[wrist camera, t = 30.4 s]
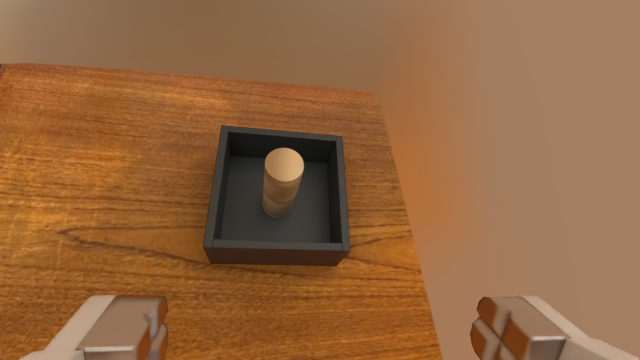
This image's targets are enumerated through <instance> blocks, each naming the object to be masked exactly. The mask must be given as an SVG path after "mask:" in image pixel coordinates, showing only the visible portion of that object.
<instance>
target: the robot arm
mask: <svg viewBox="0 0 640 360" xmlns="http://www.w3.org/2000/svg"><path fill="white" fill-rule="evenodd" d="M477 311H478V313H479V316H480V317H478V318H477V319H476V320H475V321H474V322H473V324H472V329H471V332H470V335H471V342H472V346H473V348H474V351H475V353H476V354H477V356H478V357H479V358H480V360H640V359H639V358H637V357H635V356H633V355H631V354H629V353H627V352H624V351H622V350H620V349H618V348H616V347H614V346H612V345H609V344H607V343H605V342H603V341H601V340H599V339H596V338H589V337H588V336H587V335H586V334H585V333H583V332H582V331H580V330H579V329H578V328H577V327H576V326H574V325H573V324H572V323H571V322H570V321H568V320H567V319H566V318H564V317H563V316H562V315H561V314H560V313H558V312H557V311H556V310H554V309H553V308H552V307H551V306H550V305H548V304H547V303H546V302H544V301H543V300H542V299H541V298H539V297H536V296H516V297H483V298H482V299H481V300H480V301H479V303H478V307H477ZM167 312H168V309H167V299H166V297H165V296H139V295H118V296H117V295H94V296H91V297H89V298H88V299H87V300H86V301H85V302H84V304H83V305H82V306H81V307H80V308H79V309H78V311H77V312H76V313H75V314H74V315H73V316H72V318H71V319H70V320H69V321H68V322H67V323H66V324H65V326H64V327H63V328H62V329H61V330H60V331H59V333H58V334H57V335H56V336H55V337H54V338H53V340H52V341H51V342H50V343H49V344H48V345H47V347H46V348H45V349H44V350H43V351H34V352H32V353H30V354H28V355H26V356H24V357H23V358H21V359H19V360H165V355H166V351H167V346H168V327H167V326H166V324H165V323H164V322H163V321H164V318H165V316H166V314H167Z"/></svg>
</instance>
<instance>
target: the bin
mask: <svg viewBox="0 0 640 360" xmlns="http://www.w3.org/2000/svg"><path fill="white" fill-rule="evenodd" d="M278 148H289V149H292V150H294V151H296V152H297V153H298V154H299V155H300V156H301V157H302V159H303V162H304V170H303V173H302V177H301V181H300V184H299V188H298V191H297V195H296V199H295V202H294V206H293V209H292V211H291V212H290V213H289V214H288V215H287V216H285V217H282V218H274V217H271V216H269V215H268V214H267V213H266V212H265V211H264V209H263V206H262V199H263V184H264V168H265V160H266V157H267V156H268V154H269V153H270V152H271V151H273V150H275V149H278ZM203 248H204V250H205V252H206V254H207V256H208V259H209V261H210V263H211V264H263V265H315V266H337V265H338V264H339V262H340V261H341V260H342V259H343V258H344V257H345V256H346V255H347V254H348V253H349V252H350V238H349V224H348V210H347V195H346V181H345V167H344V153H343V139H342V136H334V135H323V134H312V133H301V132H290V131H279V130H268V129H257V128H246V127H235V126H224V125H222V126H221V131H220V138H219V145H218V151H217V158H216V164H215V171H214V178H213V184H212V191H211V197H210V204H209V211H208V217H207V224H206V230H205V237H204V244H203Z"/></svg>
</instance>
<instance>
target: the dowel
mask: <svg viewBox="0 0 640 360" xmlns="http://www.w3.org/2000/svg"><path fill="white" fill-rule="evenodd" d="M303 170H304V162H303V159H302V157H301V156H300V155H299V154H298V153H297V152H296V151H294V150H292V149H289V148H278V149H275V150H273V151H271V152H270V153H269V154H268V156H267V157H266V160H265V168H264V184H263V199H262V206H263V209H264V211H265V212H266V213H267V214H268V215H269V216H271V217H274V218H282V217H285V216H287V215H288V214H289V213H290V212H291V211H292V209H293V206H294V202H295V199H296V195H297V191H298V188H299V184H300V181H301V177H302V173H303Z"/></svg>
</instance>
